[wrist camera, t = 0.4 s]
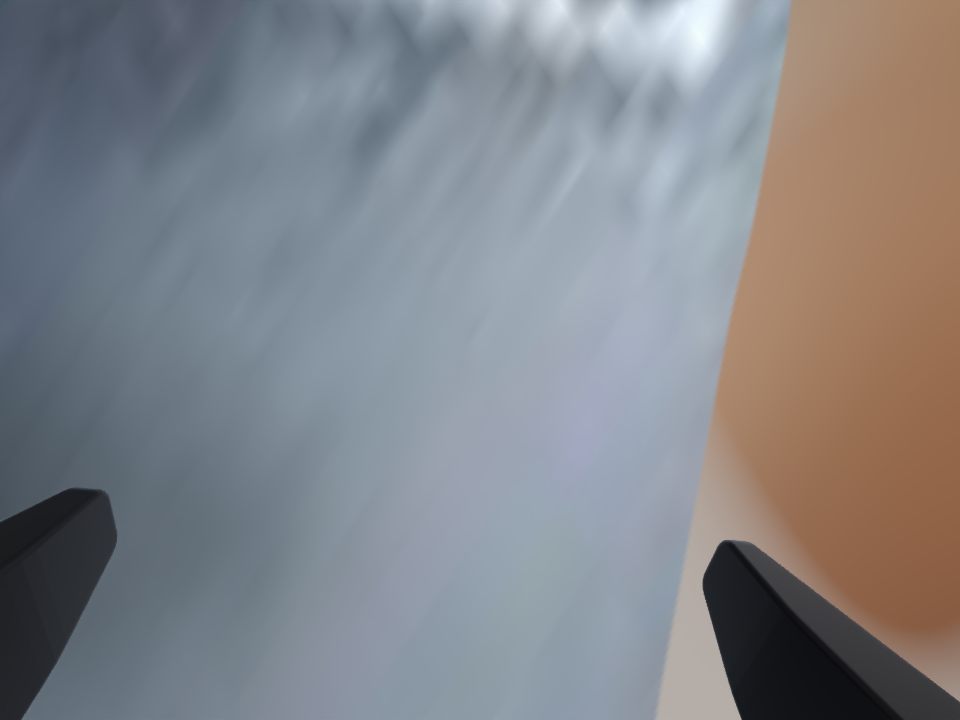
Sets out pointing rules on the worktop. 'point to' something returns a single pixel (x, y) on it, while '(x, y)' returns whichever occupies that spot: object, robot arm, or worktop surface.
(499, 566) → the worktop surface
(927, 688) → the robot arm
